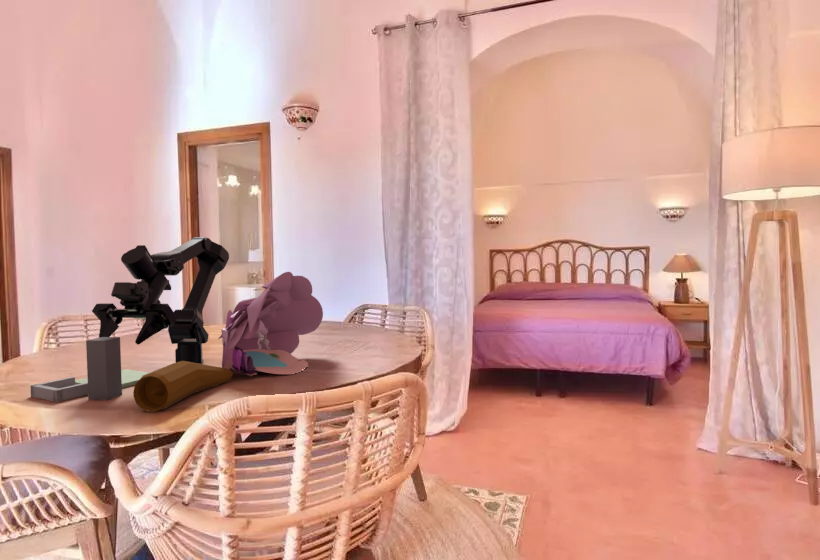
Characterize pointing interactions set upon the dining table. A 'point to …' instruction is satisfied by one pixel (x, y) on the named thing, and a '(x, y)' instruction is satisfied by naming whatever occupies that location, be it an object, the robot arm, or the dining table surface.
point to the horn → (176, 384)
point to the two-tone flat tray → (77, 386)
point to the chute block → (104, 368)
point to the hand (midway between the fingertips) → (118, 343)
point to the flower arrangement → (271, 327)
